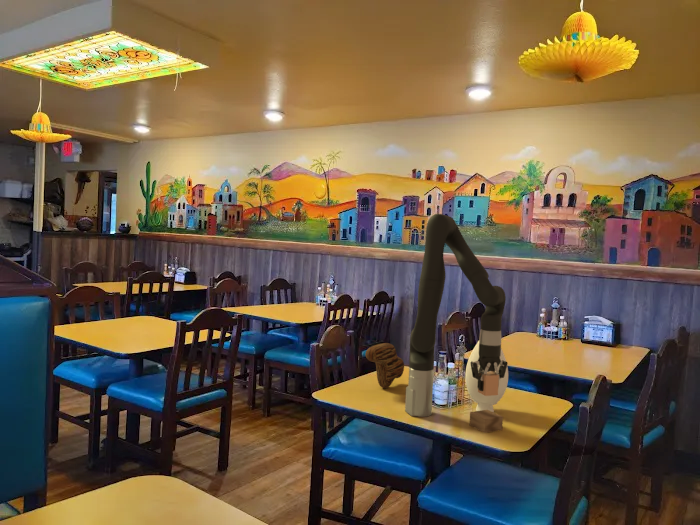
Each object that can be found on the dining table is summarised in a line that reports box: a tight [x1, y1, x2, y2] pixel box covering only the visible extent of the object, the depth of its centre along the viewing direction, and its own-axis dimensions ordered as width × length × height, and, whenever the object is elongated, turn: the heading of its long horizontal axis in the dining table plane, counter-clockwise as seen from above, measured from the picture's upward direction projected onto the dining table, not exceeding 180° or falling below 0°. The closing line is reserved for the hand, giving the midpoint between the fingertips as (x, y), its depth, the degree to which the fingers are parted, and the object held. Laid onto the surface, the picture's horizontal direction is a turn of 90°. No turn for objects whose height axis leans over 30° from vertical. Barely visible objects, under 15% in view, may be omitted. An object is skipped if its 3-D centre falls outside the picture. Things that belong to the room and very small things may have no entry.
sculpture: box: [364, 342, 405, 389], centre depth 238 cm, size 26×8×20 cm, turn 145°
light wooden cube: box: [478, 372, 499, 396], centre depth 194 cm, size 5×5×7 cm
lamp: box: [464, 340, 509, 413], centre depth 213 cm, size 16×16×35 cm
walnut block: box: [469, 410, 504, 434], centre depth 194 cm, size 8×8×5 cm
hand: (487, 389), depth 194 cm, fingers closed on light wooden cube, 5 cm apart
